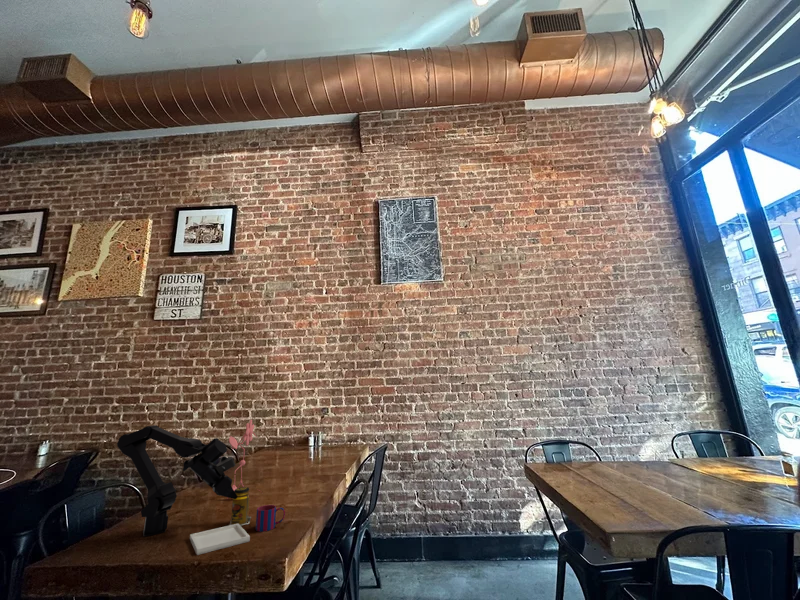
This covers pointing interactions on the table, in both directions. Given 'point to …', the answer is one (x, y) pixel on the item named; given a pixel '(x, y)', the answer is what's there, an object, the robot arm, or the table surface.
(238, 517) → the condiment
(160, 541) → the table surface
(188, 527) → the table surface
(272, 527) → the mug
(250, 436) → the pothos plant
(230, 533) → the tray
